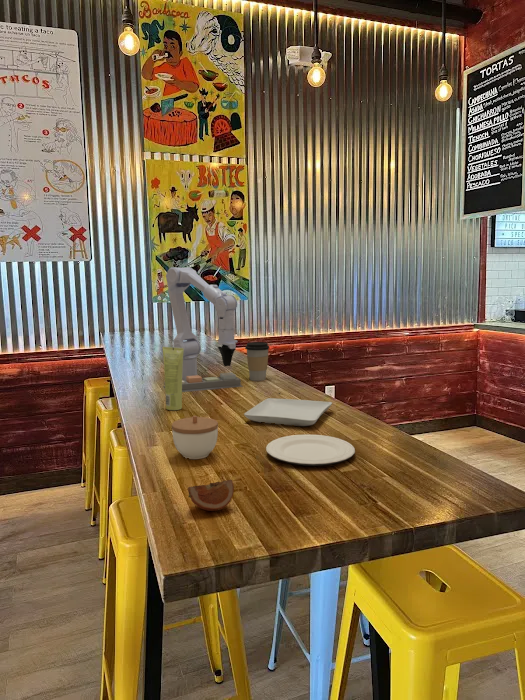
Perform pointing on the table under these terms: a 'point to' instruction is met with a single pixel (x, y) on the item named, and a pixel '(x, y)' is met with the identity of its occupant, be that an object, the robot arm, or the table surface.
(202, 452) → the lidded jar
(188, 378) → the key terracotta
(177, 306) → the robot arm
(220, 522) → the table surface
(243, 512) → the table surface
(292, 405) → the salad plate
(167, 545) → the table surface
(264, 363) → the coffee cup
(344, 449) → the plate
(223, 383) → the grey flat slotted tray
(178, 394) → the tube
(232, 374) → the key slate
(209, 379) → the key sage
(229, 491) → the fruit slice
